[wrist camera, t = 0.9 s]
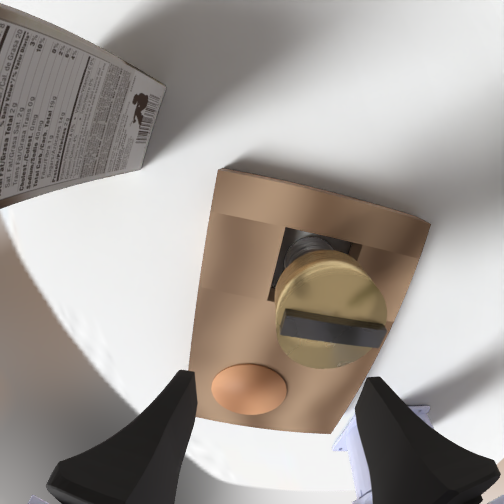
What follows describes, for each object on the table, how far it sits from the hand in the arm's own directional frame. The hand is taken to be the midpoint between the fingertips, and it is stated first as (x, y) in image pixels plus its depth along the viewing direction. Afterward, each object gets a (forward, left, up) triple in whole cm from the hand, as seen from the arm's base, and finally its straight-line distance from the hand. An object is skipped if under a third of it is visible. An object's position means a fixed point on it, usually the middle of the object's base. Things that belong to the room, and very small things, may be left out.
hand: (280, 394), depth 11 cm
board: (-2, +3, -10) cm, 11 cm away
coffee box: (+14, -10, -11) cm, 21 cm away
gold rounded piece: (-2, -2, -10) cm, 11 cm away
